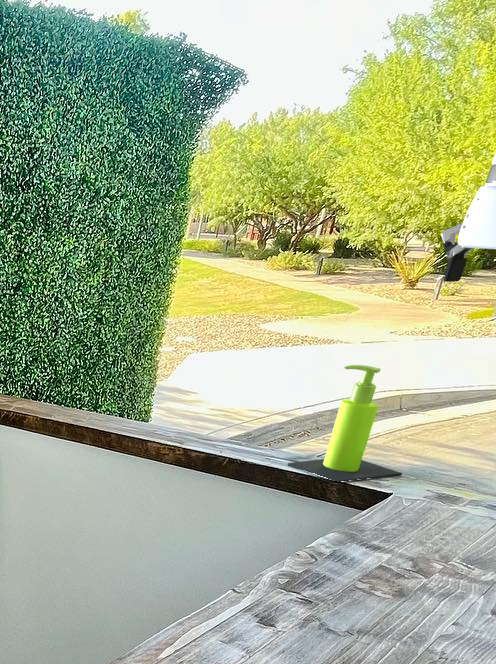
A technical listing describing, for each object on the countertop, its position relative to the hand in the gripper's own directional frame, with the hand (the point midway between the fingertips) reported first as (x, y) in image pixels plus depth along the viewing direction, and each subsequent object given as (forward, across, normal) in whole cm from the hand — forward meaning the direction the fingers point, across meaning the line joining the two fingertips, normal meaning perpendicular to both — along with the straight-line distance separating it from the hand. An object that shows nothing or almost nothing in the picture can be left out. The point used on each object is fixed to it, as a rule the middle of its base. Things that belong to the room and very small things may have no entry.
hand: (480, 284), depth 133 cm
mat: (+36, +8, +8) cm, 38 cm away
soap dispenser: (+36, +9, +8) cm, 38 cm away
